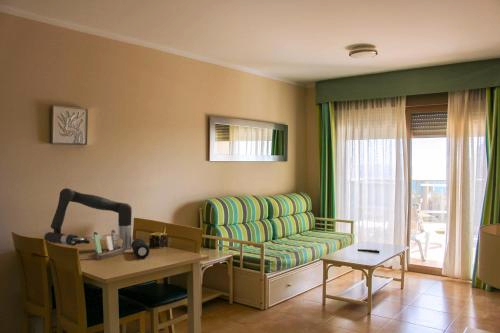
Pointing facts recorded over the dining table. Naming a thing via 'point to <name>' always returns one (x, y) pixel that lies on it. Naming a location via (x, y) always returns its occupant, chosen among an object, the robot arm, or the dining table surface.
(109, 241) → the cream paddle
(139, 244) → the portable speaker
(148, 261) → the dining table surface
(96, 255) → the switch bank
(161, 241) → the candle
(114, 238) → the steel lever
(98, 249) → the green lever
